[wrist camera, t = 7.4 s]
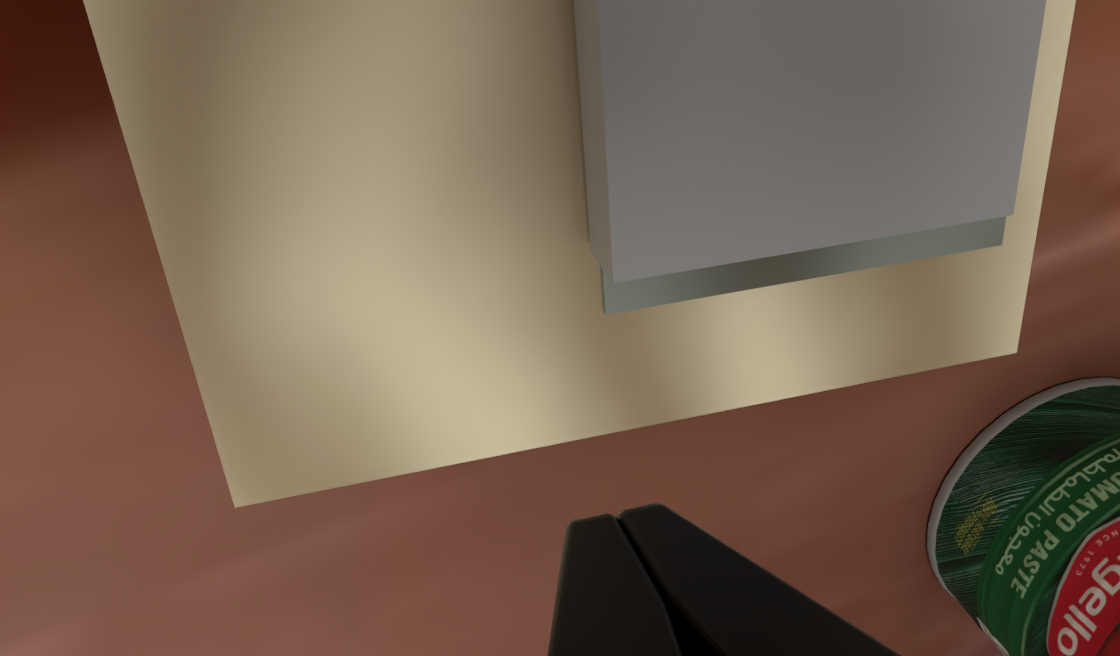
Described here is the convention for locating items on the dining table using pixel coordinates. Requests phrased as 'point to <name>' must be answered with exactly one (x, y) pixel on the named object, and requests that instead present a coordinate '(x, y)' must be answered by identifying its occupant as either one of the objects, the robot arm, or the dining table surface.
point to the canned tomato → (1038, 524)
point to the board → (481, 245)
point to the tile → (796, 123)
